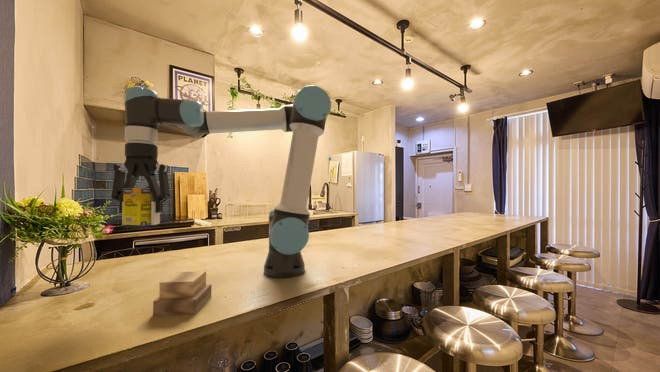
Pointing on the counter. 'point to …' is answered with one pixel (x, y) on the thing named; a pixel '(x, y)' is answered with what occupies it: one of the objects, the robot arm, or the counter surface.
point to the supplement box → (137, 207)
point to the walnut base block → (182, 304)
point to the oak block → (182, 285)
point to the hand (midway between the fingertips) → (141, 224)
